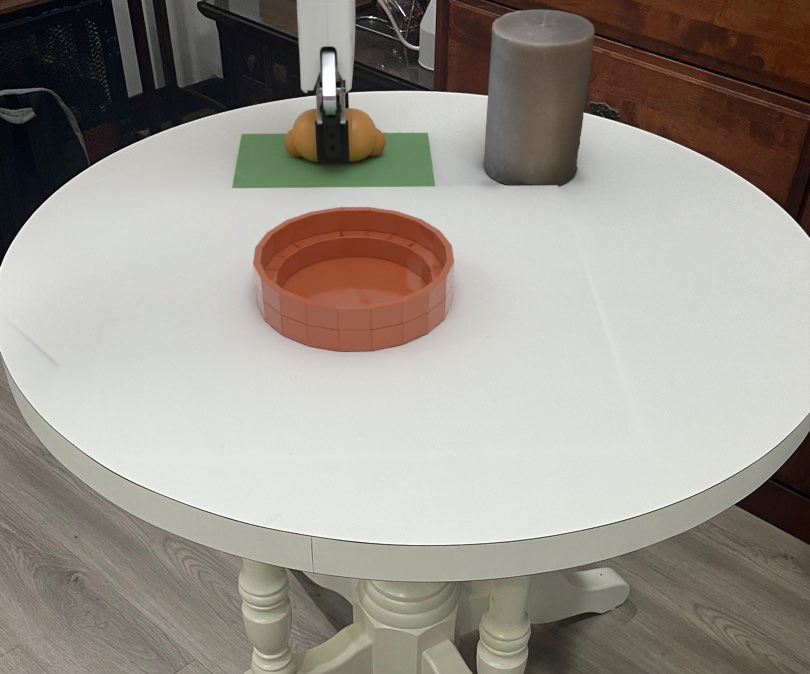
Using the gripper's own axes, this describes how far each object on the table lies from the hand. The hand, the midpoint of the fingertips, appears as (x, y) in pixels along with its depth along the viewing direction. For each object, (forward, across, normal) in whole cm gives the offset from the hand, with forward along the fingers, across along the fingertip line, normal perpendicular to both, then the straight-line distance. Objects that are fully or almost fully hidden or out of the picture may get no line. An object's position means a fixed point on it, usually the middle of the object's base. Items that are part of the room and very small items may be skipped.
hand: (333, 143), depth 101 cm
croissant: (+2, 0, 0) cm, 2 cm away
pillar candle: (+2, +2, +20) cm, 20 cm away
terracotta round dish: (+2, +26, +2) cm, 27 cm away
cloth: (+2, 0, 0) cm, 2 cm away
